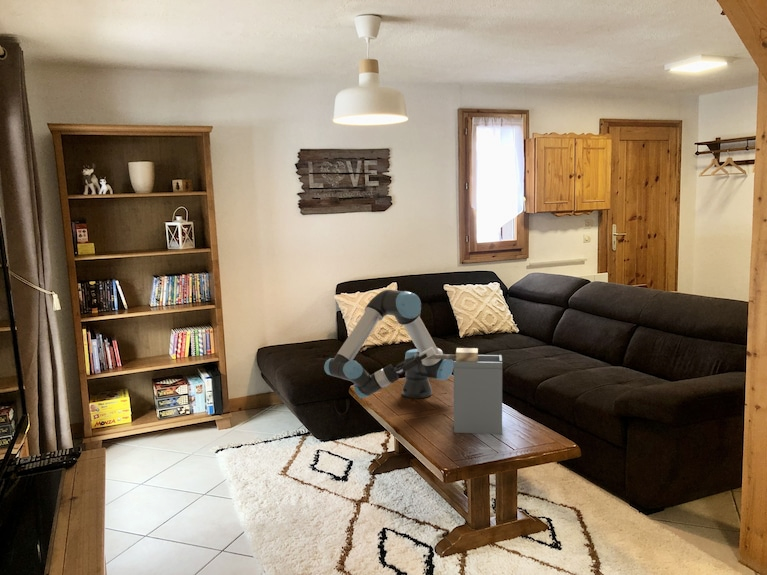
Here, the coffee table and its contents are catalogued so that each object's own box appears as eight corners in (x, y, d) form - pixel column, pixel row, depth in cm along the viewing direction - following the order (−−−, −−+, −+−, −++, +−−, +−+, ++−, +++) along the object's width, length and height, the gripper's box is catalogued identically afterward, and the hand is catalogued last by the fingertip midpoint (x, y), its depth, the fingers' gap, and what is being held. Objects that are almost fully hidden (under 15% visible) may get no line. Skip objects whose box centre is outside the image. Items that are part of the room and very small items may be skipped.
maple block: (413, 365, 263) (413, 351, 262) (415, 360, 270) (415, 347, 270) (477, 366, 258) (477, 352, 258) (477, 361, 266) (477, 348, 265)
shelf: (453, 432, 261) (453, 361, 257) (455, 420, 275) (454, 353, 270) (502, 434, 258) (502, 362, 253) (500, 422, 271) (501, 353, 267)
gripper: (394, 378, 277) (439, 353, 272) (389, 388, 262) (436, 362, 257) (385, 363, 276) (430, 338, 272) (380, 373, 262) (427, 346, 257)
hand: (433, 350), depth 264 cm, fingers closed on maple block, 2 cm apart
